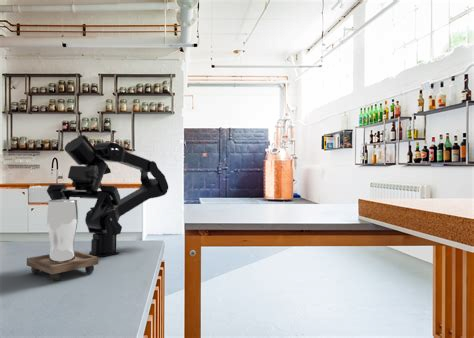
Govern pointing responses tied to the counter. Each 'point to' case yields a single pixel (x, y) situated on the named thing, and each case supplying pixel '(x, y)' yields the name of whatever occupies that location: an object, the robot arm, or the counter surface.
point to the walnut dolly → (62, 264)
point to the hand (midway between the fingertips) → (73, 219)
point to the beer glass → (62, 229)
